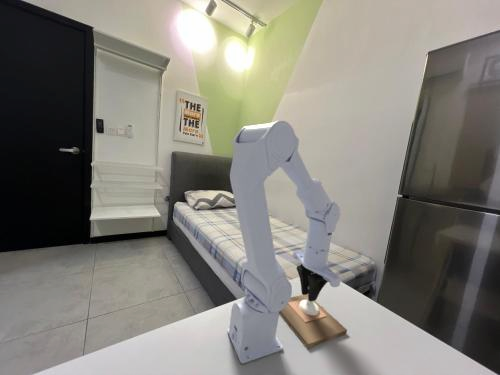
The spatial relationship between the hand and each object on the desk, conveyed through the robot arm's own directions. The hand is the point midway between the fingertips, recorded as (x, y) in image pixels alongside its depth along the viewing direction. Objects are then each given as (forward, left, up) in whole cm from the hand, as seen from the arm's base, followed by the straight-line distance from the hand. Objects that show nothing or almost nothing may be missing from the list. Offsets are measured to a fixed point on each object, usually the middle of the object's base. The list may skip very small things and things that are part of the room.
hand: (308, 296), depth 52 cm
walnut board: (-1, -2, -5) cm, 5 cm away
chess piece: (+1, 0, -4) cm, 4 cm away
